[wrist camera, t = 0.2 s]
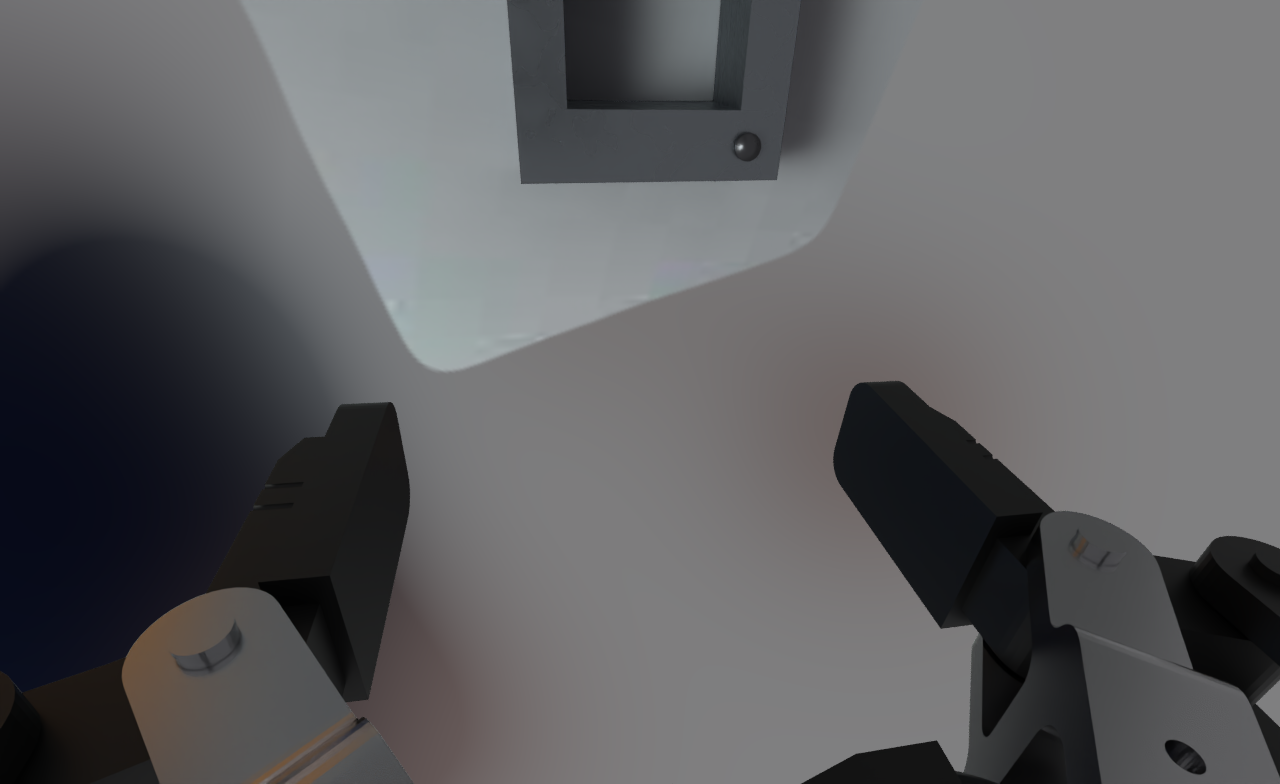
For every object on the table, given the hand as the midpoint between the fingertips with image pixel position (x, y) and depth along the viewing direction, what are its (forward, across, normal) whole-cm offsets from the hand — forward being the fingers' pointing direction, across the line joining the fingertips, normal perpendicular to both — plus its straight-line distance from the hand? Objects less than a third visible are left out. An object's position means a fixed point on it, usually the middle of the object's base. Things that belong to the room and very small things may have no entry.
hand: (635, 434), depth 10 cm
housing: (+29, -5, -6) cm, 30 cm away
